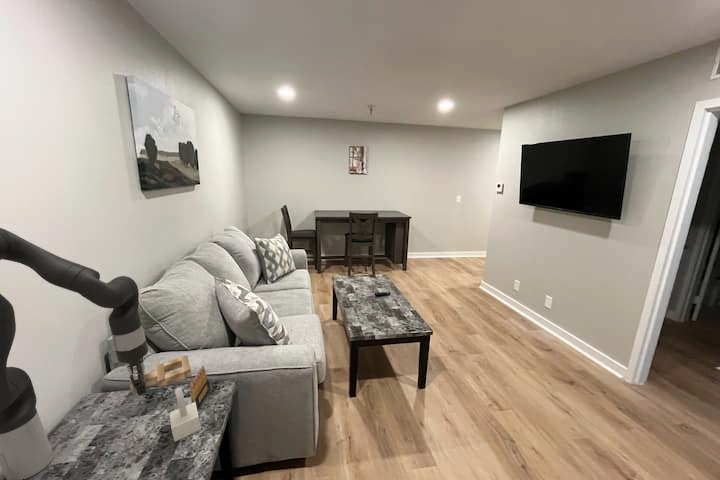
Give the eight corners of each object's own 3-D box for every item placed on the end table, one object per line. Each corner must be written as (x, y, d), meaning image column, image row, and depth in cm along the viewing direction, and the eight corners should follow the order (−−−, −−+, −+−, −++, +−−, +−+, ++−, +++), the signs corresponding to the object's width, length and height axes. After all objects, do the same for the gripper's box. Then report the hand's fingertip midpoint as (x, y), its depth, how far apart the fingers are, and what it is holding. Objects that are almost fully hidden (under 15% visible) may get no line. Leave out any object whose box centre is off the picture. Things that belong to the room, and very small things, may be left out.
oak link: (131, 398, 89) (129, 391, 88) (131, 380, 96) (130, 374, 95) (191, 375, 98) (190, 369, 97) (188, 361, 105) (187, 355, 104)
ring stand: (174, 441, 99) (164, 402, 95) (172, 425, 106) (163, 387, 101) (201, 429, 104) (193, 391, 100) (197, 413, 110) (190, 377, 106)
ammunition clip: (198, 410, 112) (192, 383, 109) (193, 410, 112) (187, 383, 109) (210, 388, 122) (205, 363, 119) (206, 388, 122) (201, 363, 119)
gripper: (115, 335, 93) (128, 382, 98) (112, 359, 82) (126, 410, 87) (145, 327, 97) (155, 372, 102) (145, 349, 86) (157, 398, 91)
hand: (142, 390), depth 94 cm, fingers closed on oak link, 3 cm apart
